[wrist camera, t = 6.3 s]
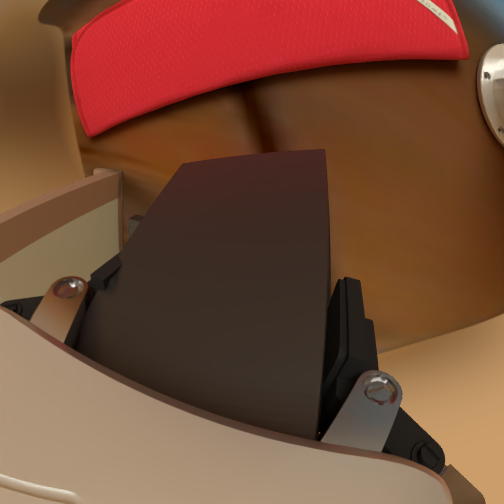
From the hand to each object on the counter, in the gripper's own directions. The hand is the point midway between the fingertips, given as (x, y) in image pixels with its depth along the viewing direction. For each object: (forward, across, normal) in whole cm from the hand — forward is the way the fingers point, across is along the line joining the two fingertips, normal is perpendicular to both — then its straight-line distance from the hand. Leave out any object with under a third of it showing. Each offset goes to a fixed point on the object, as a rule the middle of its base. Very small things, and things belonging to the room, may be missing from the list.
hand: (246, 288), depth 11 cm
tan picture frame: (+18, +20, +15) cm, 31 cm away
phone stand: (+3, 0, 0) cm, 3 cm away
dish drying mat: (+19, +8, -16) cm, 27 cm away
